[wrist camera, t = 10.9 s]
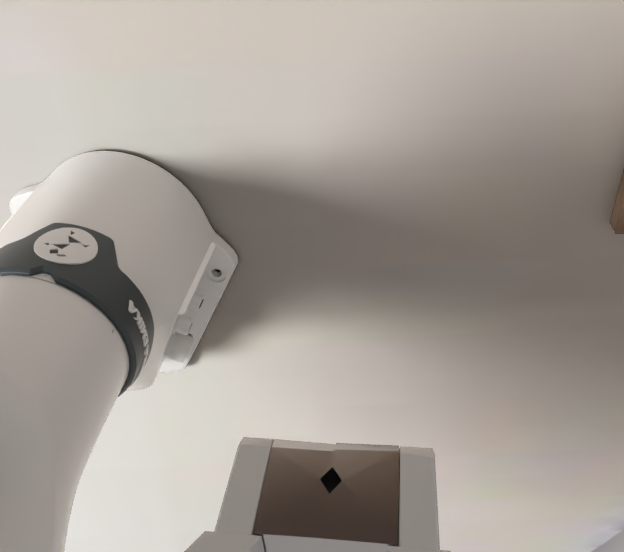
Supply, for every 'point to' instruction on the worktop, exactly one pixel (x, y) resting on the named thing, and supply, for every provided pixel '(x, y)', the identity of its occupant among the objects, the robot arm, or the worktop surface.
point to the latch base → (619, 210)
